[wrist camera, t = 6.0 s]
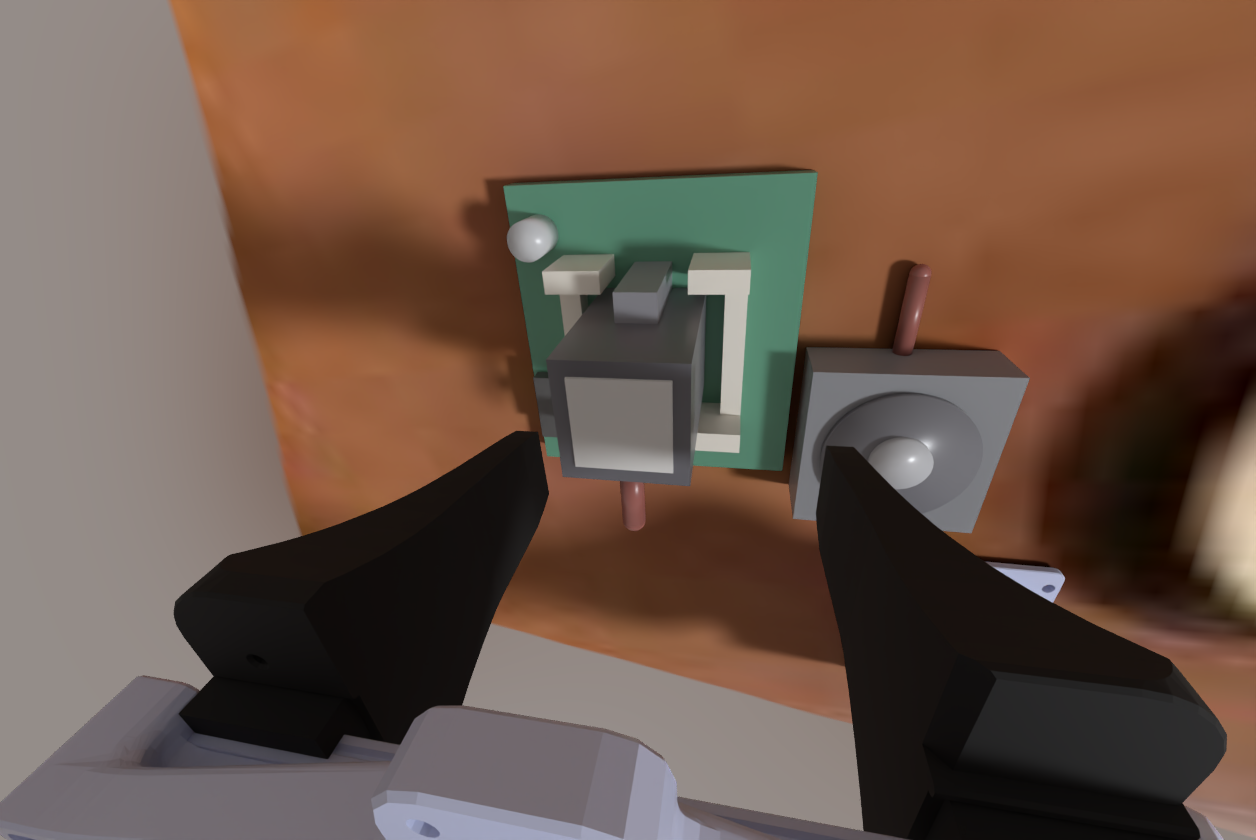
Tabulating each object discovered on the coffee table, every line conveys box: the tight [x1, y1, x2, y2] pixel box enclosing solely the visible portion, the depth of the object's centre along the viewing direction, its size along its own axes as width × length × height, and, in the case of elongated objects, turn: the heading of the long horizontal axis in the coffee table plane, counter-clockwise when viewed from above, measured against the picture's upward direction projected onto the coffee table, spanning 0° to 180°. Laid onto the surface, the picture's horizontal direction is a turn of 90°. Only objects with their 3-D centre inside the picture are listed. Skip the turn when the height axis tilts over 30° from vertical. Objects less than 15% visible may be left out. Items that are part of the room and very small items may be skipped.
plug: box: [546, 261, 706, 531], centre depth 18 cm, size 8×4×7 cm, turn 3°
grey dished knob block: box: [789, 264, 1030, 533], centre depth 20 cm, size 10×7×3 cm
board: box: [503, 170, 818, 471], centre depth 20 cm, size 12×11×4 cm
